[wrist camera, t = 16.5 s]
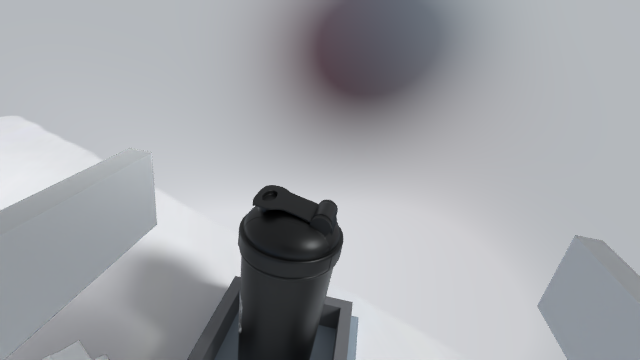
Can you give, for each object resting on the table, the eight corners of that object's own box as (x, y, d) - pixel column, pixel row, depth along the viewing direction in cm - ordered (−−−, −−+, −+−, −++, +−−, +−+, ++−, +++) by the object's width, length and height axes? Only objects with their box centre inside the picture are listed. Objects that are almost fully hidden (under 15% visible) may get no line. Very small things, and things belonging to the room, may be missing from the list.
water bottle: (249, 321, 48) (264, 169, 38) (321, 342, 46) (355, 190, 37) (214, 389, 39) (221, 212, 29) (302, 419, 37) (340, 243, 28)
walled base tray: (357, 322, 52) (363, 296, 50) (345, 481, 34) (354, 452, 31) (228, 293, 53) (229, 267, 51) (150, 430, 35) (147, 398, 33)
